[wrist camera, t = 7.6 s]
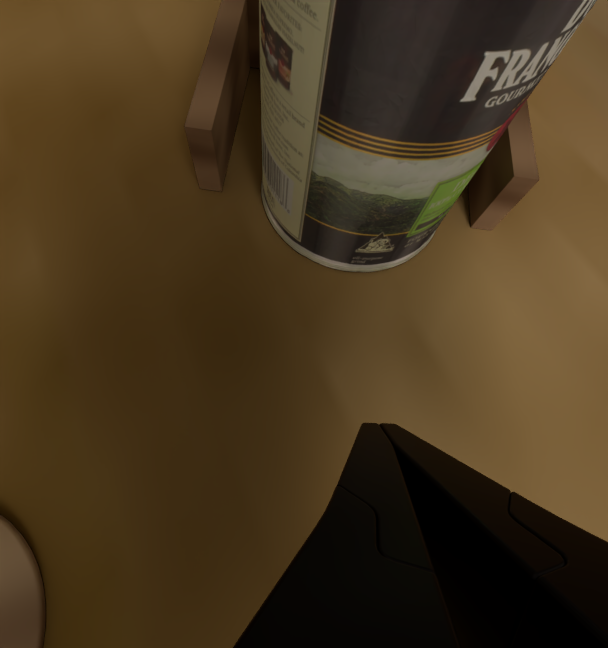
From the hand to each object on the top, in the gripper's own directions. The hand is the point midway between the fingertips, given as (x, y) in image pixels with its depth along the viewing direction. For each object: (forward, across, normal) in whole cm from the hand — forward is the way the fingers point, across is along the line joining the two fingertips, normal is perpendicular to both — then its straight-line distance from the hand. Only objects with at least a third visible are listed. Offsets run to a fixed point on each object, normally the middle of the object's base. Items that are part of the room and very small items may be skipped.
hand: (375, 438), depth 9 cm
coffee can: (+15, +1, +5) cm, 16 cm away
